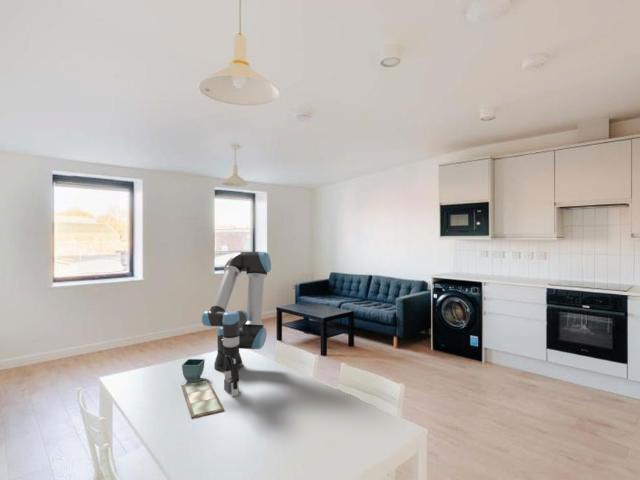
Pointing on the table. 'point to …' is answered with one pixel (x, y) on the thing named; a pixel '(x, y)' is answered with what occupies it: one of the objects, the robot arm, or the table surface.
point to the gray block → (228, 385)
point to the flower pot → (193, 369)
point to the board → (201, 399)
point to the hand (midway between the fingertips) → (231, 389)
